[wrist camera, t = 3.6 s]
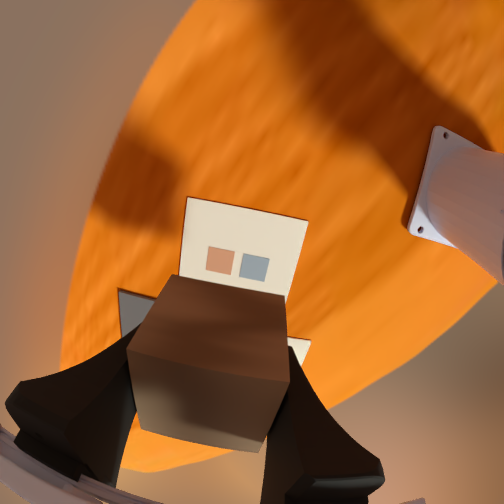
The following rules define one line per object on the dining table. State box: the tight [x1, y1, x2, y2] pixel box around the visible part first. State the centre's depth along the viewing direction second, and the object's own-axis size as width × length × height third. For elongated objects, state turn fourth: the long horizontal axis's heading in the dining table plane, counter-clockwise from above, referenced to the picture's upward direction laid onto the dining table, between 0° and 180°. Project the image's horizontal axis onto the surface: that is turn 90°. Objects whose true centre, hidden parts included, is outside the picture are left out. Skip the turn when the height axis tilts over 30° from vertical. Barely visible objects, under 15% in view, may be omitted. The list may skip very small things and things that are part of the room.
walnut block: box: [126, 274, 290, 453], centre depth 11 cm, size 5×5×5 cm
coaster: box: [119, 290, 156, 337], centre depth 23 cm, size 7×7×1 cm
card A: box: [179, 197, 308, 303], centre depth 20 cm, size 8×8×1 cm
